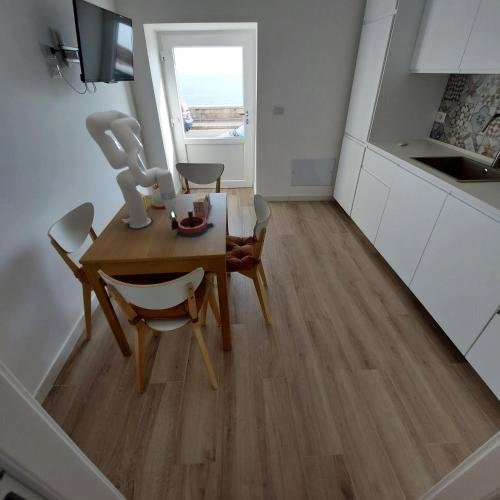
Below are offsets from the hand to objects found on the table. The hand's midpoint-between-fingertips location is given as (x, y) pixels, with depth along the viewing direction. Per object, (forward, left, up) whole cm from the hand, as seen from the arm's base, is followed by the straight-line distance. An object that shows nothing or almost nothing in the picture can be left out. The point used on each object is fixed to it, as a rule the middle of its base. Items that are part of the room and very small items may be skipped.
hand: (174, 224), depth 148 cm
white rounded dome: (-4, +43, -6) cm, 43 cm away
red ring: (+8, +1, -3) cm, 8 cm away
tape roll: (-19, +40, -6) cm, 44 cm away
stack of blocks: (+19, +20, -6) cm, 28 cm away
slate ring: (+11, +1, -5) cm, 12 cm away
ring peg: (+9, +1, -5) cm, 11 cm away
